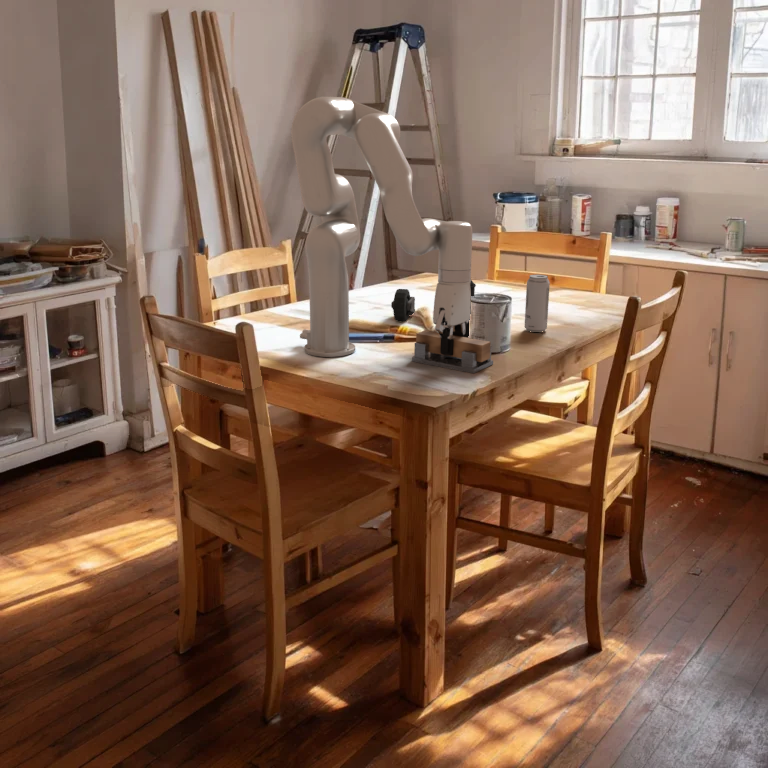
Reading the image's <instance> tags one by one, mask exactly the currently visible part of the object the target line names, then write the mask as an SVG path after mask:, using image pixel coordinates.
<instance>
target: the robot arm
mask: <svg viewBox="0 0 768 768" xmlns="http://www.w3.org/2000/svg"><path fill="white" fill-rule="evenodd" d="M290 130H291V133H290V135H291V136H290V137H291V142H292V143H291V144H292V149H293V153H294V158H295V164H296V170H297V176H298V182H299V183H298V184H299V187H300V188H299V189H300V193H301V199H302V204H303V205H302V206H303V207H304V209H305V211H306V212H307V213H308V214H310V215H311V216H313V217H317V218H319V217H320V218H321V223H319V224H317V225H315V226H314V227H312V228H311V230H309V232H308V233H307V235H306V239H305V242H304V243H305V245H304V247H305V248H304V249H305V257H306V261H307V262H306V263H307V270H308V289H309V329H306V328H305V329H303V330H302V332H301V333H300V335H299V339H301V340H303V339H304V340H306V344H305V345H304V352H305V353H306V354H308V355H310V356H314V357H321V358H323V357H324V358H335V357H343V356H348V355H351V354H353V353H355V352H356V345H355V344H354V343H352V342H350V319H349V318H350V313H349V312H350V310H349V307H350V306H349V303H350V302H349V301H350V300H349V299H350V297H349V294H350V293H349V292H350V289H349V274H348V273H349V272H348V268H347V267H348V266H347V263H346V262H347V261H346V257H349V256H350V255H352V254H354V253H355V252H356V250H357V249H358V248H359V245H360V242H361V229H360V222H359V217H358V210H357V204H356V198H355V193H354V191H353V190H354V189H353V188H352V185H351V184H350V182H349V181H348V179H347V178H345V177H344V176H343V175H341V174H339V173H336V172H335V169H334V165H333V163H334V162H333V156H332V152H331V150H330V147H329V144H328V141H327V140H328V139H327V138H328V136H331V135H332V136H335V135H339V136H344V137H347V138H349V139H352V140H353V141H355V142H356V145H357V147H358V149H359V150H360V152H361V155H362V157H363V159H364V161H365V163H366V164H367V167H368V168H369V170H370V172H371V174H372V177H373V179H374V180H375V181H374V182H375V183H376V185H377V187H378V190H379V194H380V200H381V204H382V208H383V212H384V215H385V218H386V221H387V223H388V226H389V227H390V229H391V231H392V233H393V236H394V238H395V240H396V241H397V243H398V244H399V246H400V248H401V249H402V250H403V251H404V253H406V254H408V255H411V256H414V257H415V256H416V257H419V256H423V255H425V254H427V253H429V252H431V251H435V250H438V264H437V265H438V267H437V268H438V271H437V275H438V276H437V285H436V288H435V293H434V299H433V300H434V301H433V315H432V322H433V324H434V325H435V327H434V330H435V332H438V333H439V334H440V338H441V349H440V353H441V354H444V355H449V356H452V355H453V344H454V339H452V335H455V336H461V337H464V335H463V334H465V332H466V331H465V328H466V326H467V323H468V321H469V320H470V314H471V289H470V283H471V280H472V279H471V278H472V258H473V257H472V253H473V252H472V251H473V248H472V247H473V226H472V224H471V223H469V222H468V221H461V220H449V221H445V220H440V219H435V218H430V217H429V218H427V217H425V218H422V217H421V215H420V213H419V210H418V208H417V206H416V203H415V201H414V197H413V191H412V190H413V186H412V185H413V180H414V179H413V178H414V173H413V170H412V168H411V165H410V164H409V162H408V160H407V158H406V155H405V153H404V152H403V150H402V148H401V145H400V144H399V141H400V138H401V127H400V124H399V122H398V121H397V119H396V118H395V117H394V116H392V114H390V113H387V112H385V111H382V110H379V109H376V108H373V107H371V106H368V105H365V104H363V103H360V102H358V101H357V100H356V101H355V100H353V99H350V98H348V97H342V96H320V97H315V98H313V99H311V100H309V101H307V102H306V103H305V104H303V105H302V106H301V107H300V108H299V109H298V111H297V112H296V113H295V115H294V118H293V120H292V123H291V129H290ZM445 322H446V323H447V325H445ZM445 328H449V330H448V331H447V330H446V329H445ZM453 332H454V333H453Z"/></svg>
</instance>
